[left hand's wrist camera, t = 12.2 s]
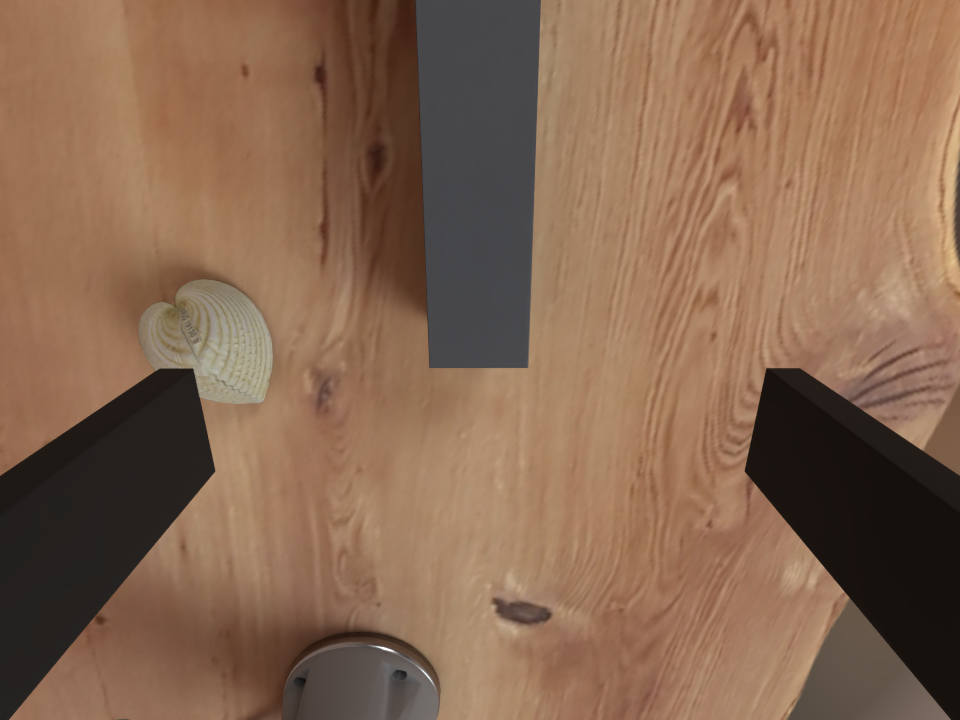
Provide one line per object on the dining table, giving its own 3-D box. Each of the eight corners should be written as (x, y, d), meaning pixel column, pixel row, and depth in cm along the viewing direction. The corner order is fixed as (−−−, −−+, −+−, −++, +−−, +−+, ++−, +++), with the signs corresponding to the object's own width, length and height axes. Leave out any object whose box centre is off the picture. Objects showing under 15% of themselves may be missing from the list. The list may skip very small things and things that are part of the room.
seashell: (208, 246, 35) (268, 340, 33) (257, 298, 43) (306, 375, 41) (91, 311, 33) (147, 413, 32) (164, 352, 42) (212, 435, 40)
